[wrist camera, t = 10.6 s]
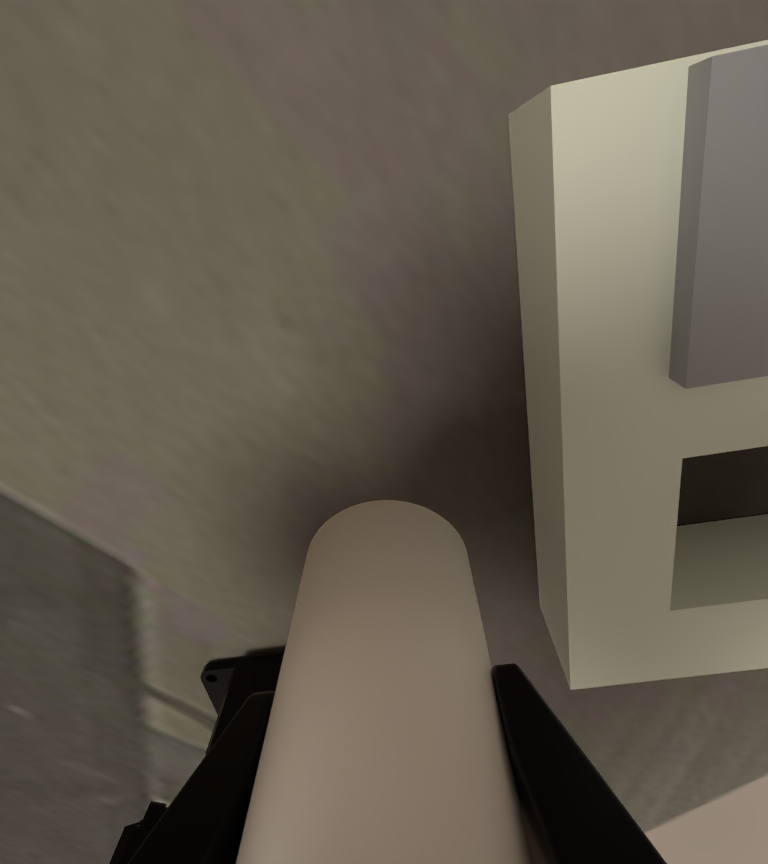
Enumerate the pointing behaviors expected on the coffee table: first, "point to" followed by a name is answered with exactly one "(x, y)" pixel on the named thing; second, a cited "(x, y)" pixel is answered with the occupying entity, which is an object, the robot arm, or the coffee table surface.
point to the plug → (385, 708)
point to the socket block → (625, 394)
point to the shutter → (723, 224)
